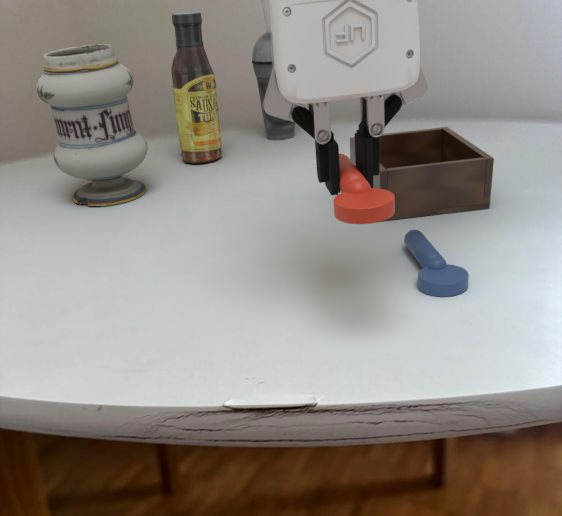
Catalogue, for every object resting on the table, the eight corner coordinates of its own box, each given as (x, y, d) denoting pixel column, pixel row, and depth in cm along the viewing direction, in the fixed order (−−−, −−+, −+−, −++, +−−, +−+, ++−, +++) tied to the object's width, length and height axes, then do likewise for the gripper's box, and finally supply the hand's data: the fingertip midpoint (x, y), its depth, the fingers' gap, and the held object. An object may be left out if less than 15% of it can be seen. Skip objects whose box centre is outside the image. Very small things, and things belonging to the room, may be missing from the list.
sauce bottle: (201, 167, 101) (180, 15, 91) (173, 162, 105) (150, 15, 95) (233, 156, 105) (216, 9, 95) (205, 151, 109) (186, 9, 99)
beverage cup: (294, 142, 110) (285, -1, 99) (252, 141, 112) (238, 2, 101) (308, 130, 115) (300, -6, 105) (267, 130, 118) (256, -3, 107)
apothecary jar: (45, 205, 92) (6, 57, 82) (104, 178, 100) (75, 42, 91) (116, 213, 86) (83, 57, 77) (172, 184, 95) (148, 40, 86)
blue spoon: (390, 248, 71) (390, 229, 69) (432, 243, 71) (432, 224, 70) (425, 299, 60) (426, 278, 59) (475, 293, 61) (476, 272, 59)
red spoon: (312, 178, 59) (310, 154, 58) (363, 171, 59) (362, 147, 58) (340, 228, 49) (339, 200, 48) (402, 219, 49) (402, 191, 48)
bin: (444, 170, 91) (447, 126, 88) (489, 208, 78) (494, 158, 75) (350, 181, 90) (349, 137, 87) (380, 221, 77) (379, 171, 74)
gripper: (219, -78, 42) (254, 217, 51) (476, -106, 42) (462, 189, 52) (213, -76, 48) (245, 186, 58) (437, -100, 49) (431, 162, 59)
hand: (348, 186), depth 55 cm, fingers closed on red spoon, 2 cm apart
